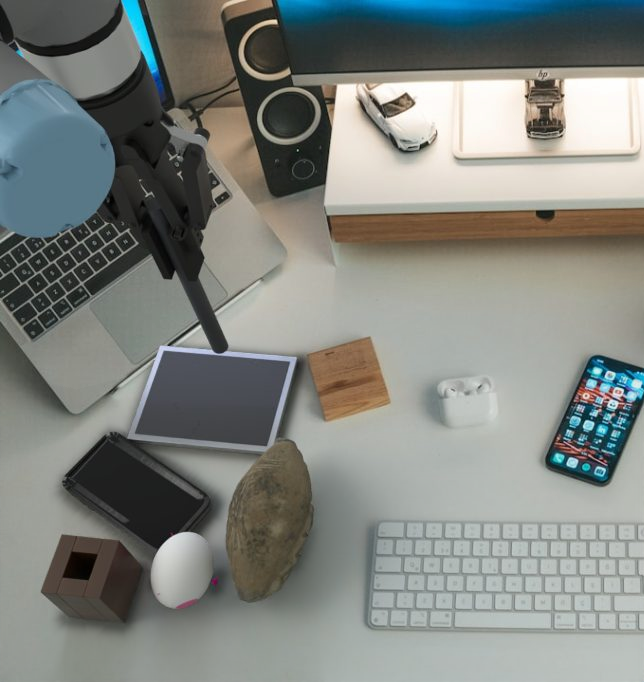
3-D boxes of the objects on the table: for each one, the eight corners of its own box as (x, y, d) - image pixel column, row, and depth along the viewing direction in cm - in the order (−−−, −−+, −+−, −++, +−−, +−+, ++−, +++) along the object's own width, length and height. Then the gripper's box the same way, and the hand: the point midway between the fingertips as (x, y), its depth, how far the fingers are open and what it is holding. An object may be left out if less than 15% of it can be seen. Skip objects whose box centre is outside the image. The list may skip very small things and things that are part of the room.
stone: (310, 615, 106) (293, 585, 99) (221, 614, 106) (198, 584, 99) (330, 458, 115) (316, 422, 108) (248, 458, 115) (229, 422, 109)
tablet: (129, 442, 117) (126, 438, 116) (162, 348, 123) (159, 344, 123) (273, 456, 115) (271, 452, 115) (298, 360, 122) (297, 356, 121)
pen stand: (68, 617, 106) (39, 592, 101) (88, 561, 110) (61, 533, 104) (124, 623, 106) (99, 598, 100) (143, 567, 109) (119, 540, 103)
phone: (111, 427, 117) (213, 498, 111) (115, 432, 117) (216, 503, 112) (56, 483, 113) (159, 558, 108) (60, 488, 114) (162, 563, 109)
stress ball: (188, 558, 113) (135, 535, 108) (240, 541, 109) (188, 516, 104) (172, 629, 108) (117, 608, 104) (226, 613, 104) (171, 590, 100)
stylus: (211, 356, 107) (142, 210, 89) (216, 343, 108) (148, 195, 90) (227, 358, 107) (161, 211, 89) (232, 344, 108) (167, 197, 90)
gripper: (204, 36, 78) (274, 241, 98) (12, 25, 80) (119, 229, 99) (174, 111, 74) (253, 309, 94) (-28, 97, 76) (91, 295, 95)
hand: (184, 268), depth 97 cm, fingers closed on stylus, 1 cm apart
